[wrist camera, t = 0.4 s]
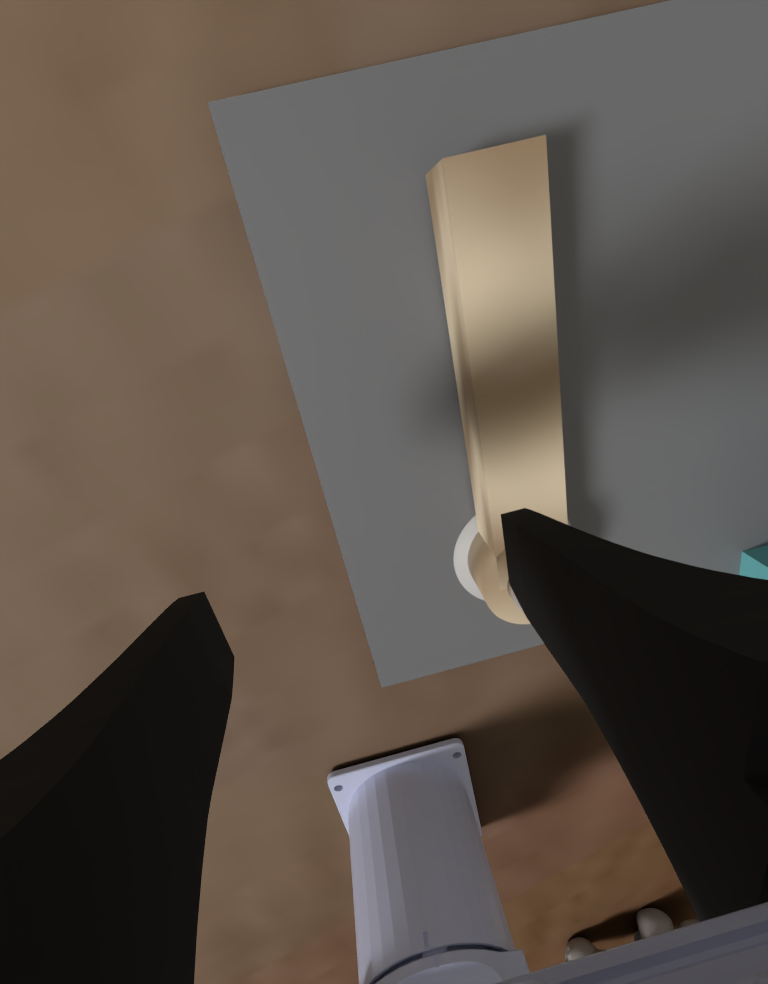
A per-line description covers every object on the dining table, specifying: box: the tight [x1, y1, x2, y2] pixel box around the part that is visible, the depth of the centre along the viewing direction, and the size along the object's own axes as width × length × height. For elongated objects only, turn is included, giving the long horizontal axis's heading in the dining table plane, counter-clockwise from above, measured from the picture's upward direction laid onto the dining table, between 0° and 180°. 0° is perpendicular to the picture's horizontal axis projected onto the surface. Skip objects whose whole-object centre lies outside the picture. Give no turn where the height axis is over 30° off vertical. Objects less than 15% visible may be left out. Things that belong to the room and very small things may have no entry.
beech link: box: [425, 135, 568, 624], centre depth 18 cm, size 17×4×3 cm, turn 12°
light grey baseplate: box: [208, 0, 768, 688], centre depth 20 cm, size 24×25×1 cm
